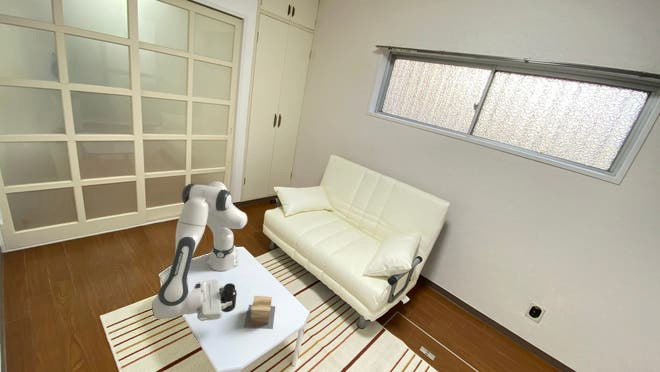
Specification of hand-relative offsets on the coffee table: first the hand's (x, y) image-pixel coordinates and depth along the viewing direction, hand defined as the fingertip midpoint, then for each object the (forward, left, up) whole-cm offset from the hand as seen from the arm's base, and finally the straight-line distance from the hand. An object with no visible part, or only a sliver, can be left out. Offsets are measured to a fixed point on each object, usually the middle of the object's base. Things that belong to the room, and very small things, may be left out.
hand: (230, 295), depth 121 cm
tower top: (-6, +14, -15) cm, 21 cm away
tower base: (-6, +14, -19) cm, 25 cm away
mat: (-6, +14, -20) cm, 25 cm away
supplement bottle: (0, -1, -7) cm, 7 cm away
